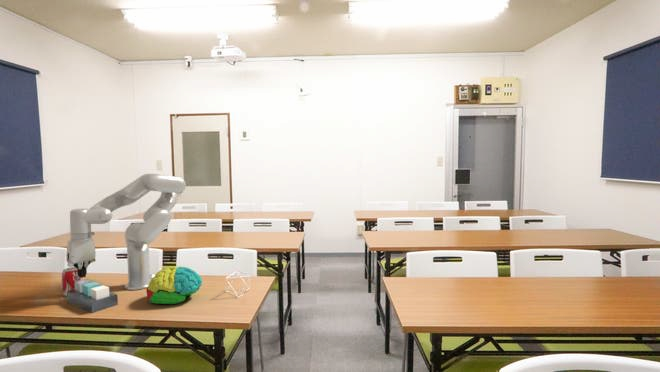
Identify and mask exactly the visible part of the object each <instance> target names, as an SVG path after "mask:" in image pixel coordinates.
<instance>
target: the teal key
mask: <svg viewBox="0 0 660 372" xmlns="http://www.w3.org/2000/svg"><path fill="white" fill-rule="evenodd" d="M99 286H102V285H101V283H100V282H97V281H92V282H91V283H87V284H83V285H82V289H83V295H84V296H87V297H88V296H91V289H92V288H95V287H99Z"/></svg>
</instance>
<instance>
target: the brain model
mask: <svg viewBox="0 0 660 372" xmlns="http://www.w3.org/2000/svg"><path fill="white" fill-rule="evenodd" d="M155 274H156V275H155ZM155 274H154V275H155V276H154V277H153V278H152V280H151V281H150V283H149V285H148V287H147V288H145V289H146V290H145V291H146V292H145V293H146V296H147V300H148V301H149V302H150V303H151V304H156V305H157V304H158V305H159V304H163V305H176V304H180V303H183V302H184V301H185V299H186V297H189V296H191V295H193V294H195V293H197V292H198V291H199V290H200V288H201V286H202V285H203V280H202V276H200V274H199V273H197V272H196V271H195V270H194V269H192V268H190V267H187V266H178V265H177V266H176V265H175V266H168V267H164V268H161V270H159V271H157V272H156V273H155Z"/></svg>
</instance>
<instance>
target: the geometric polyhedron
mask: <svg viewBox="0 0 660 372" xmlns="http://www.w3.org/2000/svg"><path fill="white" fill-rule="evenodd" d="M240 273H241V274H243V275H244V276H243V275H242V276H241V274H240ZM232 275H234V276H232ZM236 275H239V278H241V280H242V281H243V283H244V286H243V288H242V291H240V294H239V296H238V295H237V292H236V290H235V289H234V288H233V286H232V285H231V284H232V283H233V281H234V279H235V278H238V276H236ZM231 276H232V277H231ZM247 277H248V278H247ZM229 278H230V279H232V280H231V282H229V281H228V280H229ZM243 278H247V280H246V281H245V280H244V279H243ZM225 281H226V282H227V283H228V284H229V285H228V287H227V288H226V290H225V293H226V292H227V293H228V290H229V289H230V288H231V289H232V291H234V292H233V293H234V294H235V296H236V298H237V297H238V298H237V299H240V298H241V297H240V296H242V294H243V292H244V291H243V290H245V288H247V290H249V289H251V288H250V286H251V285H250V284H251V276H250V275H249V274H246V273H244V272H241V271H238V270H237V271H235V272H234V273H232V274H230V275H228V276H226V278H225ZM248 281H249V282H248ZM247 283H248V285H247ZM248 286H249V287H248ZM239 297H240V298H239Z"/></svg>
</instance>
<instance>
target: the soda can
mask: <svg viewBox="0 0 660 372" xmlns="http://www.w3.org/2000/svg"><path fill="white" fill-rule="evenodd" d="M80 280H82V279H81V278H80V277H79V276H78V275H77V268H76V267H74V266H72V267H68V268H65V269H63V270H62V273H61V289H62V295H63V296H66V297H67V291H70V290H74V289H75V282H76V281H80Z"/></svg>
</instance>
